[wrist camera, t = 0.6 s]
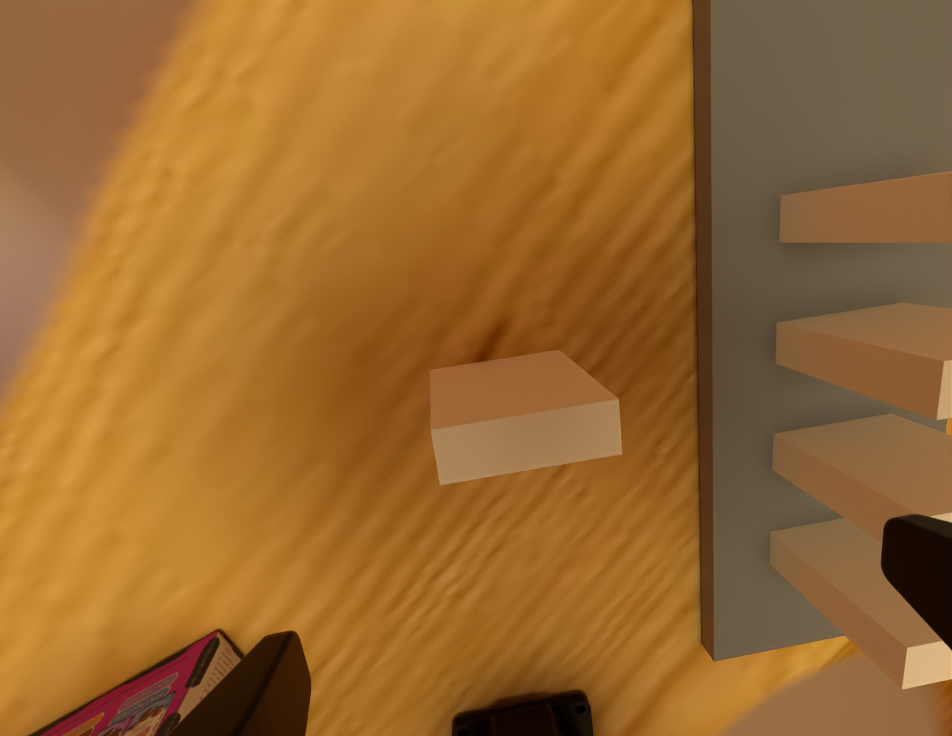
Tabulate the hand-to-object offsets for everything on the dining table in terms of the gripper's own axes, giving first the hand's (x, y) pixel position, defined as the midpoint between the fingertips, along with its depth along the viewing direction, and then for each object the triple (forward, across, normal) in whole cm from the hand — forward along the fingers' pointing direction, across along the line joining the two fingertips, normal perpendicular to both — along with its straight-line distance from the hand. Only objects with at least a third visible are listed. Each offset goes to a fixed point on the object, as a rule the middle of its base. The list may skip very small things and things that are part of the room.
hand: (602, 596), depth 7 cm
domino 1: (+12, 0, 0) cm, 12 cm away
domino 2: (+11, -13, -5) cm, 17 cm away
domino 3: (+11, -13, 0) cm, 17 cm away
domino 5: (+11, -13, +9) cm, 19 cm away
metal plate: (+12, -13, -1) cm, 18 cm away
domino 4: (+11, -13, +4) cm, 17 cm away
